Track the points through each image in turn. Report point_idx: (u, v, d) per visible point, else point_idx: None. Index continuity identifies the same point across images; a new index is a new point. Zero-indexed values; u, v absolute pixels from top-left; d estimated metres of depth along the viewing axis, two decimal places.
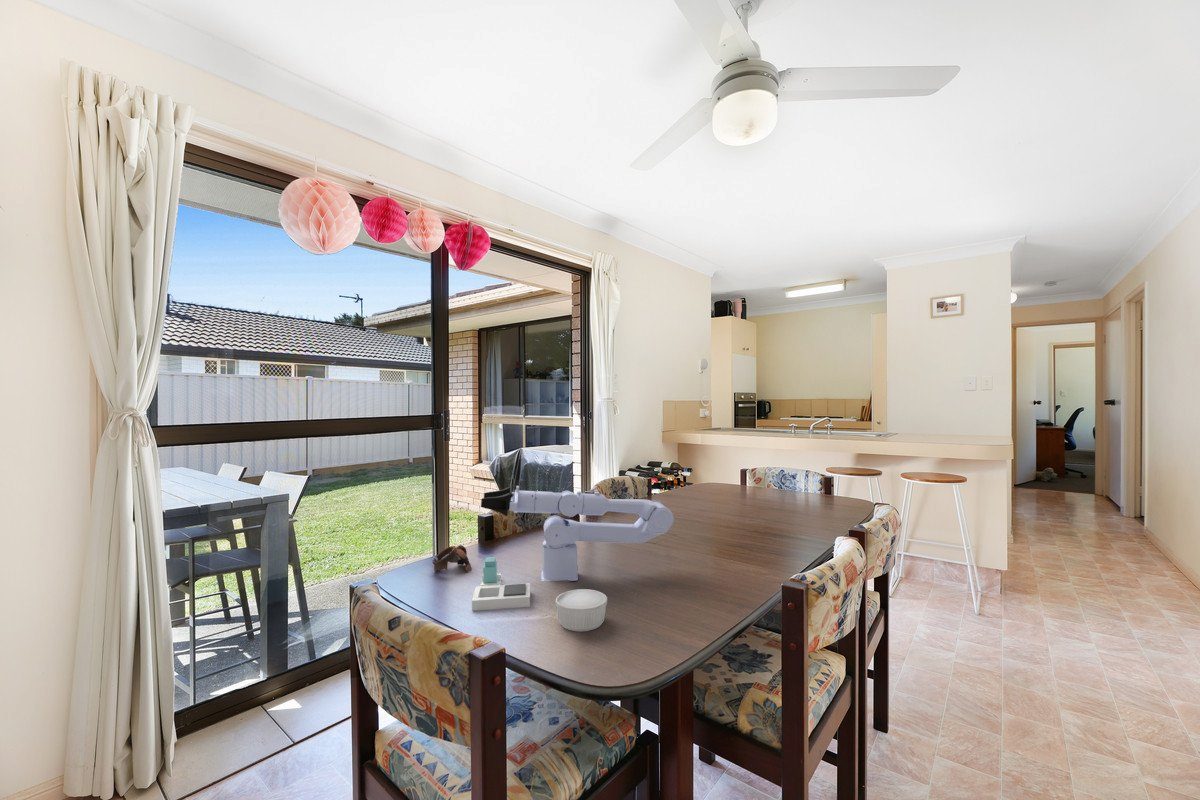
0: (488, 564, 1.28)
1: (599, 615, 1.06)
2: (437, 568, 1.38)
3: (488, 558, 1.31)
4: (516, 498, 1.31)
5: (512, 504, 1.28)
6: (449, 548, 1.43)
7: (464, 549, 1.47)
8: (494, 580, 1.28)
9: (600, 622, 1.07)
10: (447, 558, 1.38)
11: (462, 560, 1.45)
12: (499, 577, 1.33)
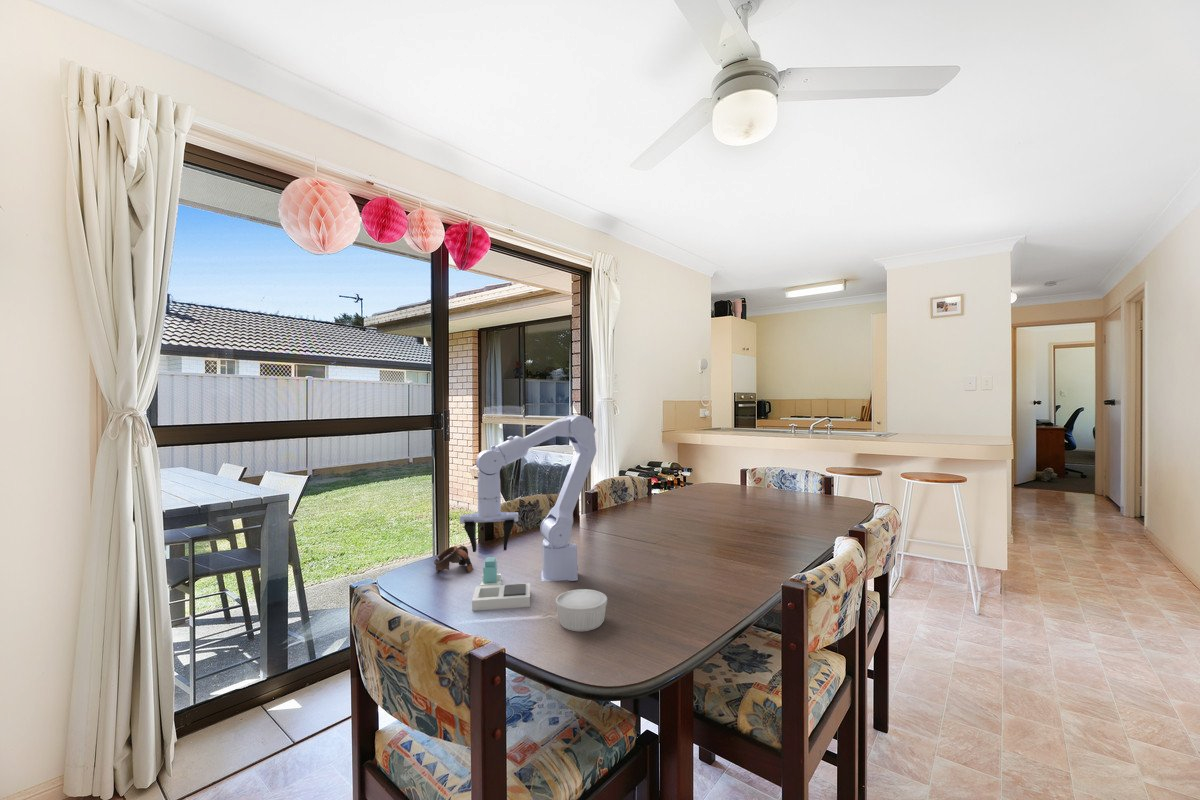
0: (488, 564, 1.28)
1: (599, 615, 1.06)
2: (439, 568, 1.37)
3: (488, 558, 1.31)
4: (506, 516, 1.29)
5: None
6: (451, 548, 1.43)
7: (466, 549, 1.47)
8: (494, 580, 1.28)
9: (600, 622, 1.07)
10: (449, 558, 1.37)
11: (464, 560, 1.45)
12: (499, 577, 1.33)
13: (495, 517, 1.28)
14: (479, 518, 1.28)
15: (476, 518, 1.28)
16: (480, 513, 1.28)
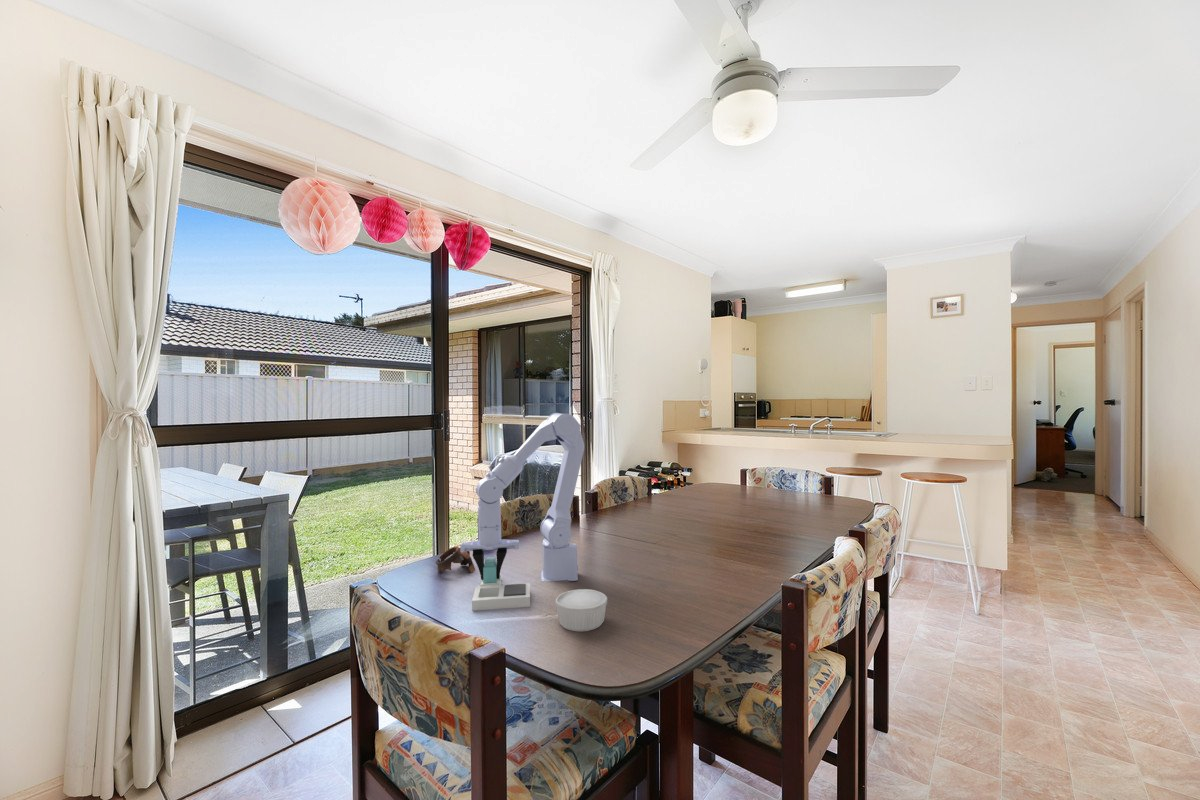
0: (488, 564, 1.28)
1: (599, 615, 1.06)
2: (441, 569, 1.37)
3: (488, 558, 1.31)
4: (507, 544, 1.29)
5: (518, 546, 1.31)
6: (452, 549, 1.43)
7: None
8: (494, 580, 1.28)
9: (600, 622, 1.07)
10: (451, 559, 1.37)
11: (465, 561, 1.45)
12: None
13: (496, 545, 1.28)
14: (480, 547, 1.28)
15: (477, 547, 1.28)
16: (480, 541, 1.28)
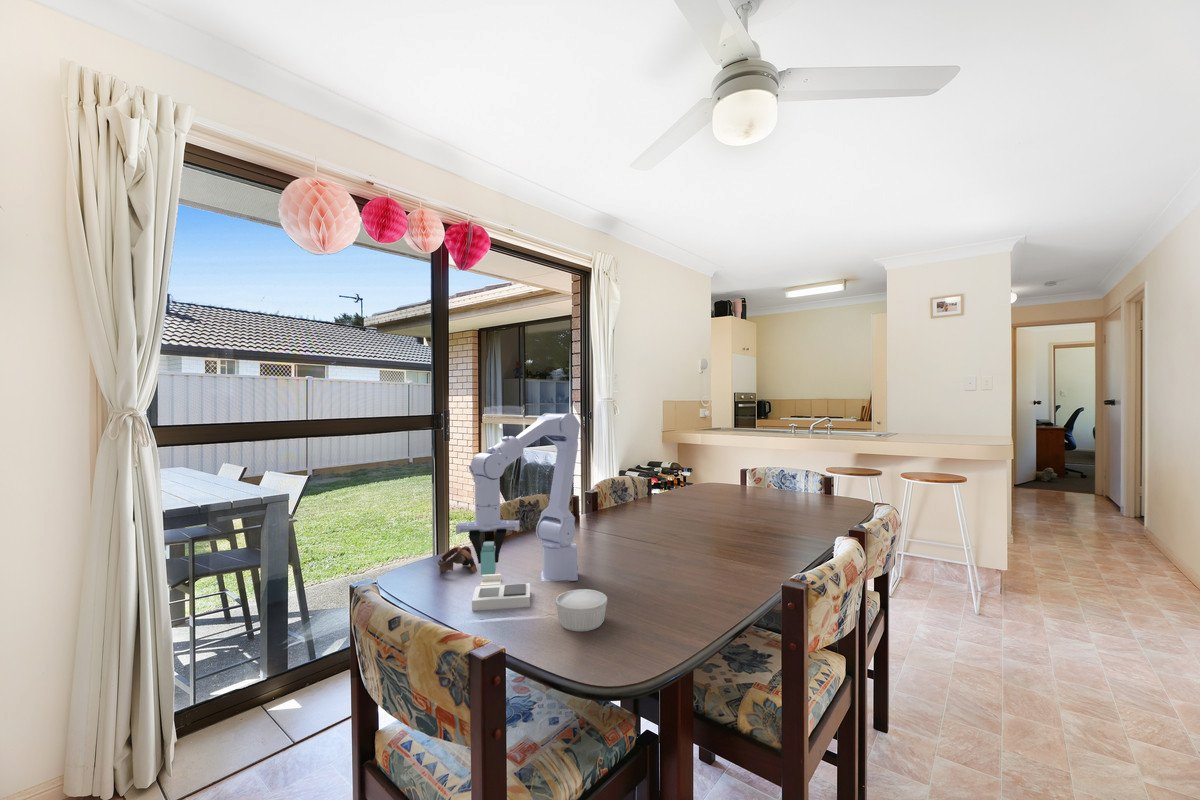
0: (486, 548, 1.18)
1: (599, 615, 1.06)
2: (443, 569, 1.37)
3: (486, 542, 1.21)
4: (506, 525, 1.19)
5: None
6: (454, 549, 1.42)
7: (469, 550, 1.47)
8: (492, 566, 1.18)
9: (600, 622, 1.07)
10: (453, 559, 1.37)
11: (467, 561, 1.44)
12: (499, 577, 1.33)
13: (494, 526, 1.17)
14: (476, 527, 1.17)
15: (473, 527, 1.17)
16: (477, 521, 1.18)
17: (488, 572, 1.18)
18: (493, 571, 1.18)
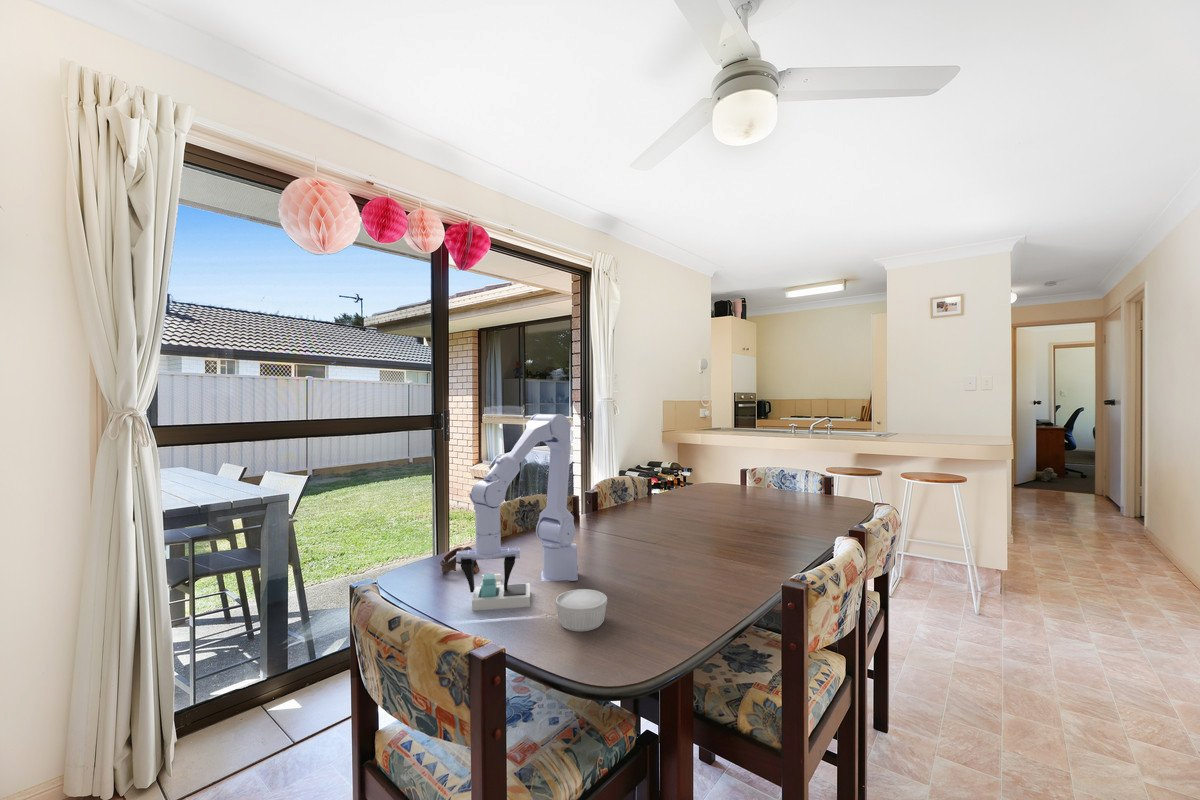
0: (486, 582, 1.18)
1: (599, 615, 1.06)
2: (445, 569, 1.36)
3: (486, 575, 1.21)
4: (507, 553, 1.18)
5: (519, 555, 1.20)
6: (457, 549, 1.42)
7: None
8: None
9: (600, 622, 1.07)
10: (455, 559, 1.36)
11: None
12: (499, 577, 1.33)
13: (495, 554, 1.17)
14: (477, 556, 1.17)
15: (474, 556, 1.17)
16: (478, 550, 1.17)
17: None
18: None
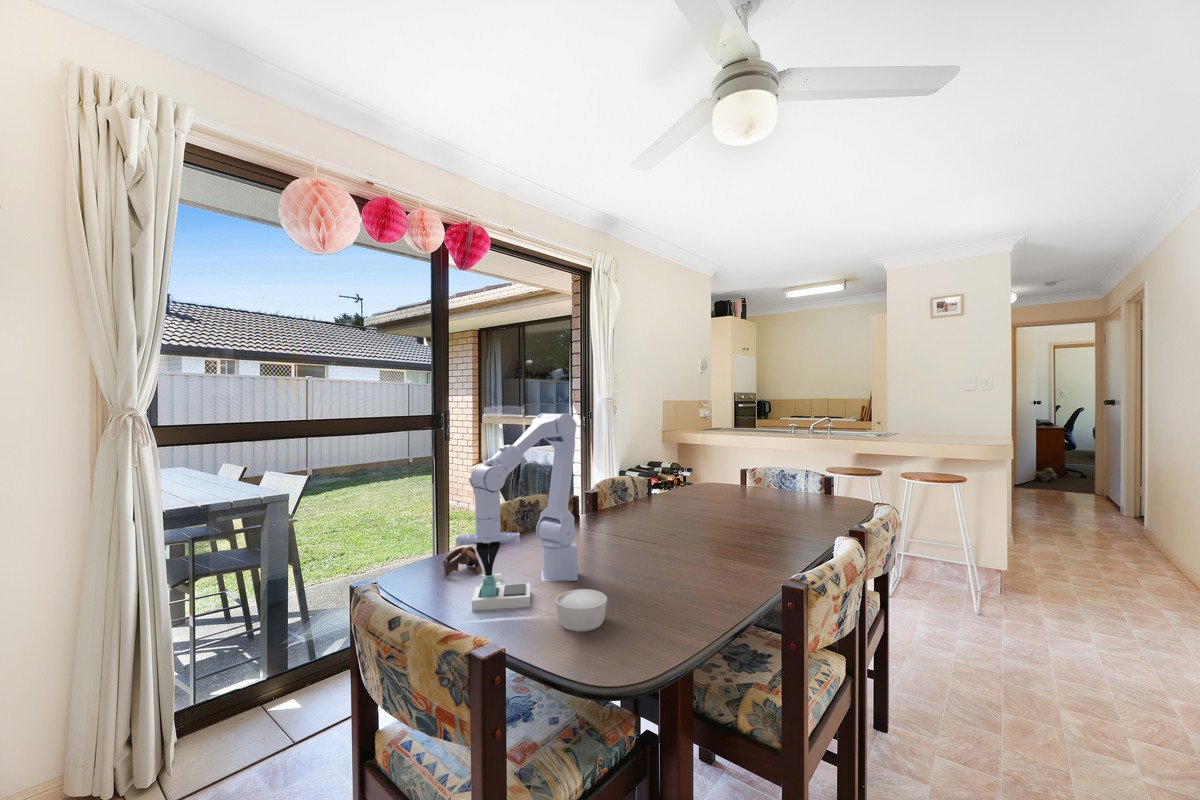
0: (487, 582, 1.18)
1: (600, 615, 1.06)
2: (448, 570, 1.36)
3: None
4: (507, 537, 1.18)
5: (519, 539, 1.20)
6: (459, 550, 1.42)
7: (473, 550, 1.46)
8: None
9: (600, 622, 1.07)
10: (458, 560, 1.36)
11: (472, 562, 1.44)
12: (499, 577, 1.33)
13: (494, 539, 1.17)
14: (477, 540, 1.17)
15: (474, 540, 1.17)
16: (477, 534, 1.17)
17: None
18: None
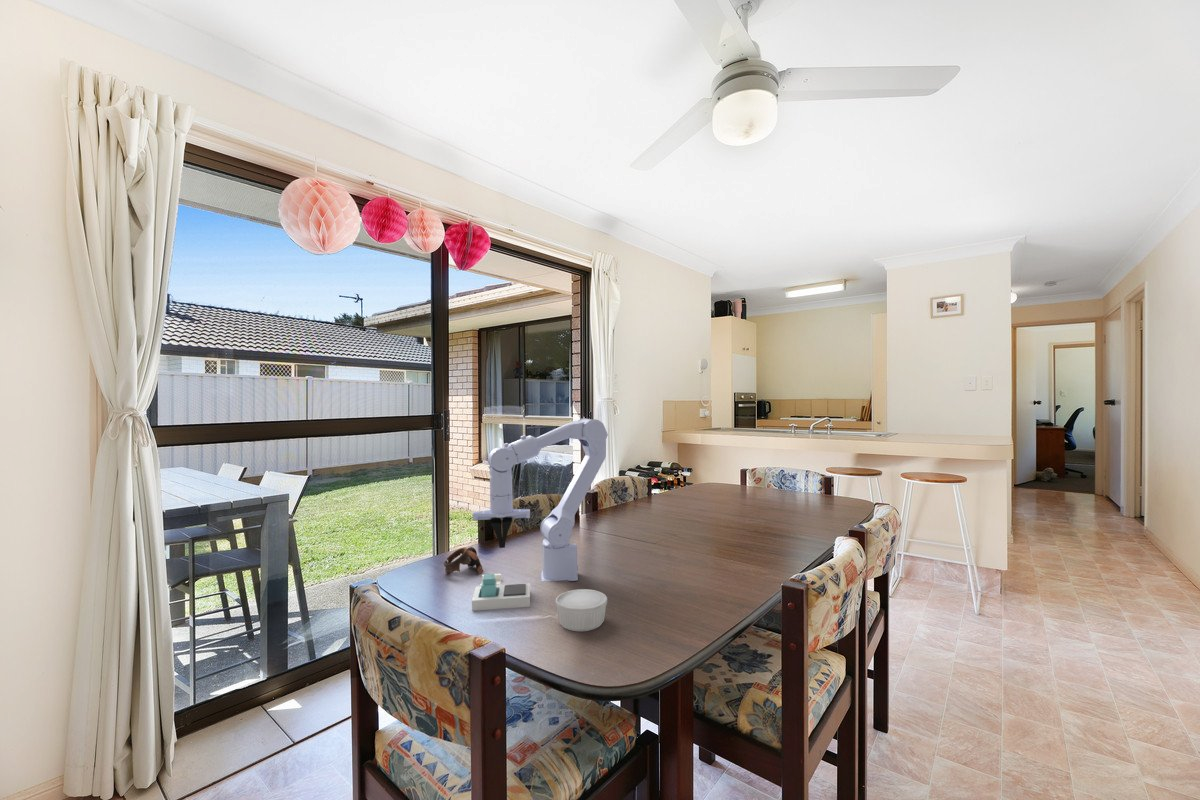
0: (487, 582, 1.18)
1: (600, 615, 1.06)
2: (449, 570, 1.36)
3: (486, 575, 1.21)
4: (518, 513, 1.31)
5: (529, 515, 1.32)
6: (460, 550, 1.41)
7: (474, 551, 1.46)
8: None
9: (600, 622, 1.07)
10: (459, 560, 1.36)
11: (473, 562, 1.44)
12: (499, 577, 1.33)
13: (507, 514, 1.29)
14: (492, 515, 1.29)
15: (489, 515, 1.29)
16: (492, 510, 1.30)
17: None
18: None
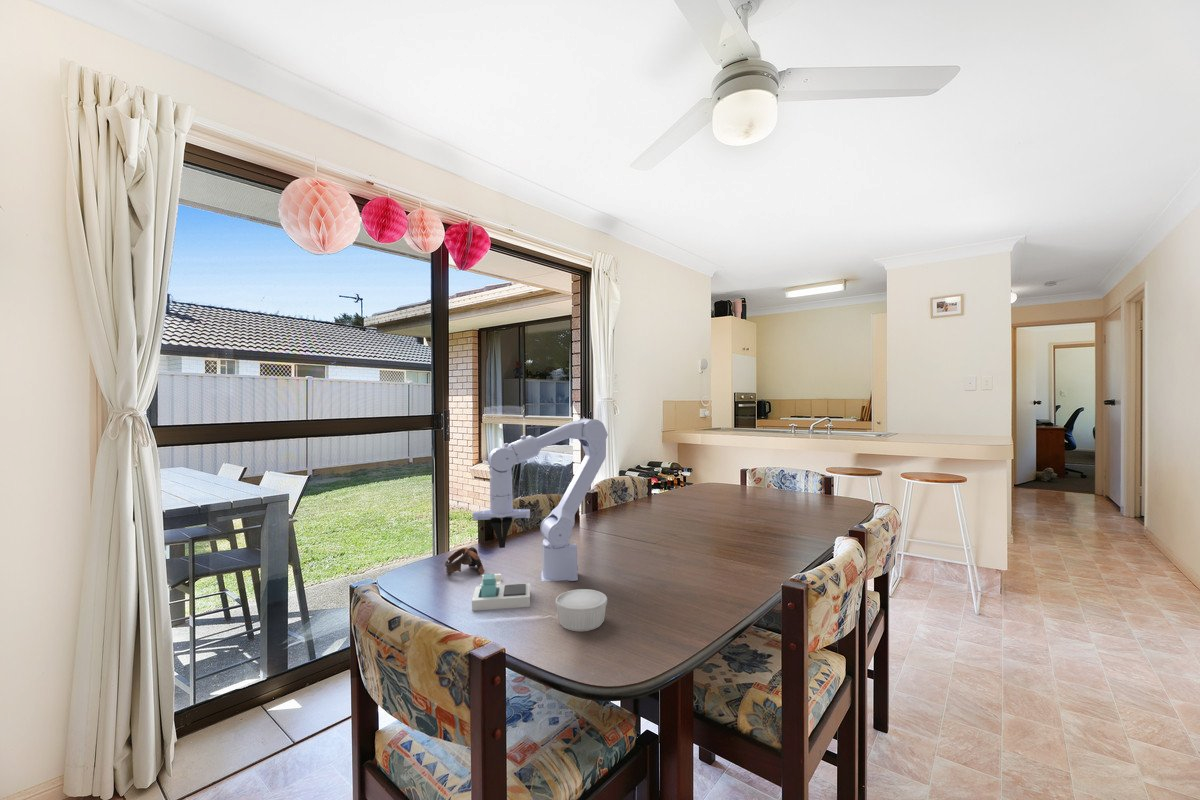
0: (487, 582, 1.18)
1: (600, 615, 1.06)
2: (450, 570, 1.36)
3: (486, 575, 1.21)
4: (518, 513, 1.31)
5: (529, 515, 1.32)
6: (461, 550, 1.41)
7: (475, 551, 1.46)
8: None
9: (600, 622, 1.07)
10: (460, 560, 1.36)
11: (474, 562, 1.43)
12: (499, 577, 1.33)
13: (507, 514, 1.29)
14: (492, 515, 1.29)
15: (489, 515, 1.29)
16: (492, 510, 1.30)
17: None
18: None
